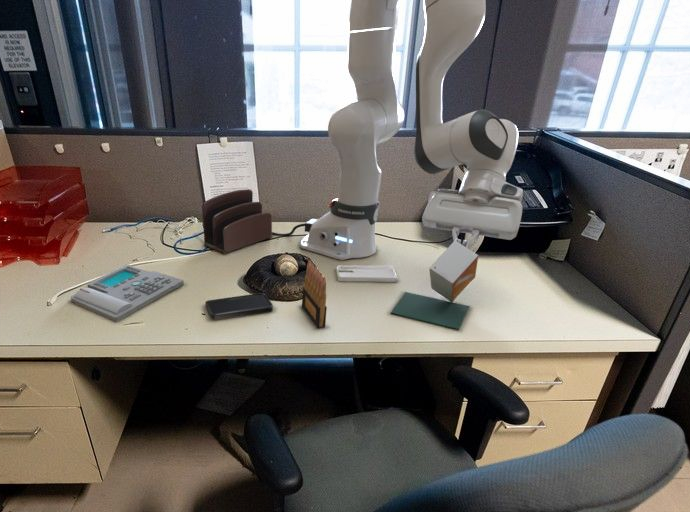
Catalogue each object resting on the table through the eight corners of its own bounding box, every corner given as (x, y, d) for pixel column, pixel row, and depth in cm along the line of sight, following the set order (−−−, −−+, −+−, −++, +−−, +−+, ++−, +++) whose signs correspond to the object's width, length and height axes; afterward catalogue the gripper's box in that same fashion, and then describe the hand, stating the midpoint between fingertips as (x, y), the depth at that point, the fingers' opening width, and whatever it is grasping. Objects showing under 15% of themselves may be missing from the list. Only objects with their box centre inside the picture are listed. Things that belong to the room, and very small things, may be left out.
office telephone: (115, 313, 106) (59, 290, 116) (117, 323, 108) (62, 300, 117) (183, 275, 121) (128, 258, 131) (184, 284, 123) (130, 267, 132)
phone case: (338, 281, 123) (396, 282, 122) (339, 276, 122) (397, 277, 121) (335, 269, 129) (391, 270, 128) (336, 265, 128) (392, 265, 127)
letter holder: (203, 245, 145) (200, 198, 136) (251, 229, 155) (250, 185, 147) (224, 254, 139) (222, 206, 130) (272, 237, 149) (273, 191, 141)
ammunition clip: (325, 327, 104) (330, 277, 97) (317, 328, 104) (321, 278, 97) (308, 305, 113) (312, 258, 106) (301, 306, 112) (304, 258, 105)
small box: (452, 303, 113) (452, 284, 101) (430, 288, 115) (428, 268, 103) (476, 277, 111) (479, 254, 100) (454, 262, 114) (454, 239, 102)
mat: (390, 314, 109) (390, 312, 109) (405, 293, 117) (405, 291, 117) (458, 330, 102) (458, 329, 102) (468, 307, 111) (469, 306, 110)
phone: (274, 307, 110) (211, 316, 107) (273, 311, 111) (211, 320, 108) (264, 292, 116) (204, 300, 113) (264, 296, 117) (204, 304, 114)
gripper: (432, 179, 108) (412, 234, 107) (531, 190, 99) (510, 250, 98) (432, 194, 114) (413, 247, 113) (526, 206, 105) (507, 263, 104)
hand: (459, 248), depth 105 cm, fingers closed
